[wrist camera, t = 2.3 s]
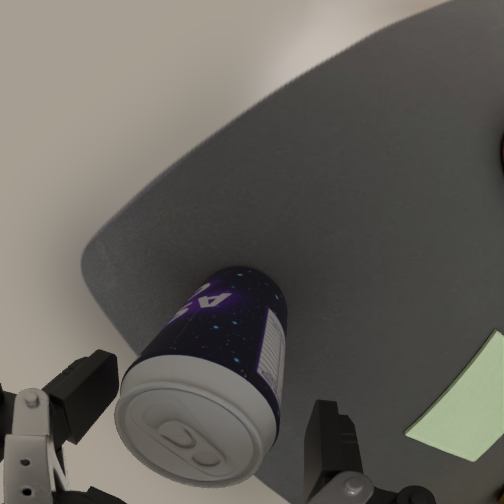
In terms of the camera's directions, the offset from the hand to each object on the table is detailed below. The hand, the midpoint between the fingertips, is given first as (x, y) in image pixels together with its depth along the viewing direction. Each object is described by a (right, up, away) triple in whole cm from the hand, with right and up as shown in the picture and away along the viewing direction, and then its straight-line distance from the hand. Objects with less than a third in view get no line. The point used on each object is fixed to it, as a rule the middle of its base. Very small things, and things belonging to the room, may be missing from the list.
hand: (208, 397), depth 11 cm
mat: (+22, -8, +8) cm, 25 cm away
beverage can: (+1, +2, +9) cm, 9 cm away
